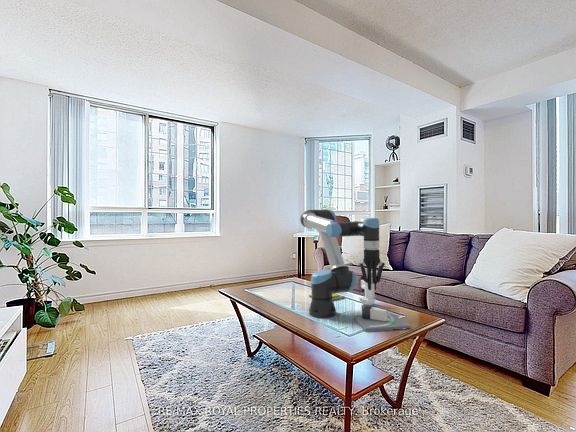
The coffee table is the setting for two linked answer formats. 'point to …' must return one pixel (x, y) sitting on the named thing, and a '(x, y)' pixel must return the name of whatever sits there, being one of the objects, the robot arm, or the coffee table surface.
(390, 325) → the tuner board
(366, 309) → the white and grey lever
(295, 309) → the coffee table surface
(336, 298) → the wooden puzzle
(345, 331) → the coffee table surface
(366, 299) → the white faucet
